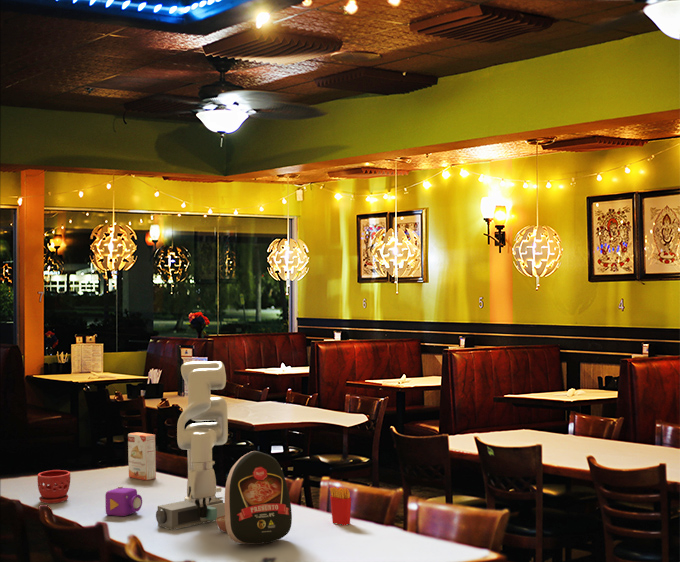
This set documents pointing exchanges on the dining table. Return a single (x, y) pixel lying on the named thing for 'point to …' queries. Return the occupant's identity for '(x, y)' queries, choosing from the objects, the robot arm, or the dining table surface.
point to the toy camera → (122, 501)
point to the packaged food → (257, 500)
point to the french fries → (340, 505)
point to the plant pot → (53, 486)
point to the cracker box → (141, 456)
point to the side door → (214, 511)
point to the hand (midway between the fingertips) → (202, 516)
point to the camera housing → (180, 514)
